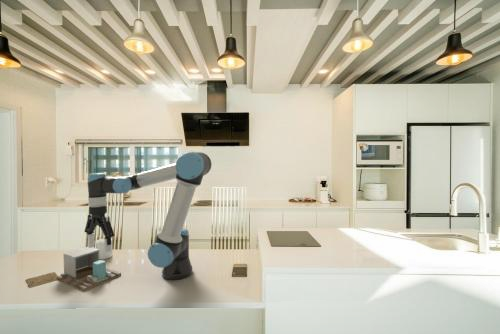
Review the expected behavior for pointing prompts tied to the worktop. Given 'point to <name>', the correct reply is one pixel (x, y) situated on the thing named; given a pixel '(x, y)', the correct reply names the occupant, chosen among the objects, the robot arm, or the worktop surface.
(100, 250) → the cup
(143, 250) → the worktop surface
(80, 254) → the housing
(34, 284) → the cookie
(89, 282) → the board
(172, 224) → the robot arm
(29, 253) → the worktop surface
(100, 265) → the teal block
